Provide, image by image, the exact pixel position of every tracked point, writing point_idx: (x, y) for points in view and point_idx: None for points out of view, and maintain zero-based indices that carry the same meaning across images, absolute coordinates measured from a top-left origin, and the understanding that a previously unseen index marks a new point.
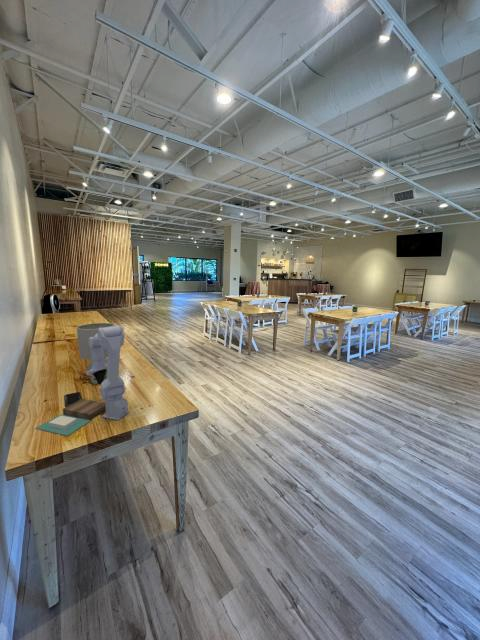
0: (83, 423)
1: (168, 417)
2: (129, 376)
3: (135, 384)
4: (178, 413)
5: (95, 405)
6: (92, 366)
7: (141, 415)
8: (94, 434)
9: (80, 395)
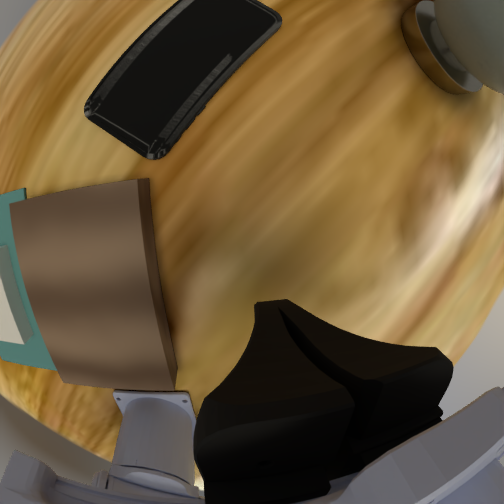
0: (47, 360)
1: None
2: (500, 172)
3: (452, 271)
4: None
5: (119, 353)
6: (461, 480)
7: None
8: (57, 418)
9: (240, 57)
